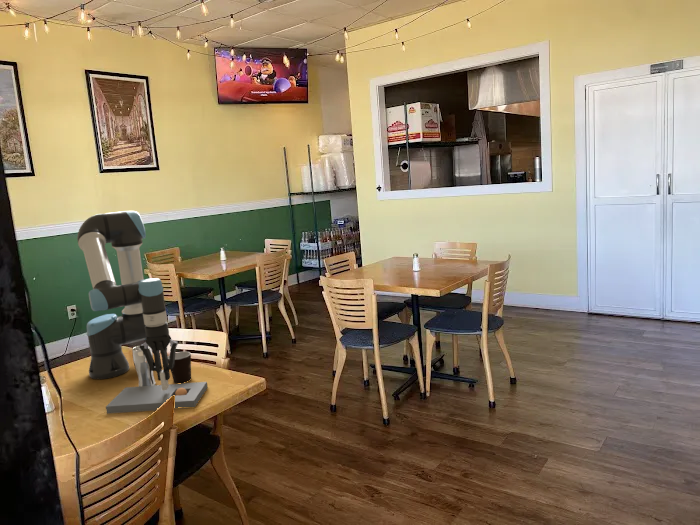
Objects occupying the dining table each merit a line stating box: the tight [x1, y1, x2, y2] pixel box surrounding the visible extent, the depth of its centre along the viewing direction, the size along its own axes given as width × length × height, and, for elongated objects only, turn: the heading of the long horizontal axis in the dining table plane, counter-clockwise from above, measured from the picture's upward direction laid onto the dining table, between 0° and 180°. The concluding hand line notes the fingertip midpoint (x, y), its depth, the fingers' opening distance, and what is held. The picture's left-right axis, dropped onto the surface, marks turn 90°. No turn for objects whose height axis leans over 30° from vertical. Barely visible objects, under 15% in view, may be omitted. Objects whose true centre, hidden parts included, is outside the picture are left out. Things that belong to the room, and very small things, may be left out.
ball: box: [175, 388, 187, 396], centre depth 191 cm, size 4×4×4 cm
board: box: [105, 381, 209, 414], centre depth 191 cm, size 30×16×2 cm, turn 89°
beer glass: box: [131, 344, 157, 387], centre depth 205 cm, size 7×7×15 cm
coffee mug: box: [167, 351, 192, 384], centre depth 209 cm, size 12×9×10 cm
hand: (165, 388), depth 191 cm, fingers closed
